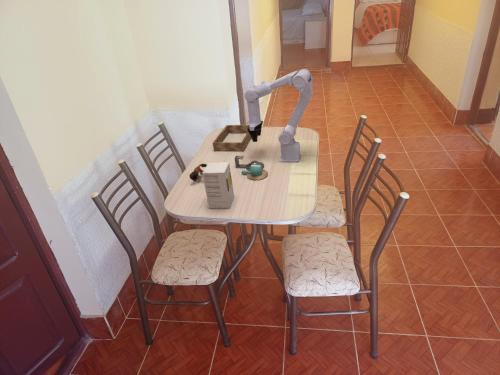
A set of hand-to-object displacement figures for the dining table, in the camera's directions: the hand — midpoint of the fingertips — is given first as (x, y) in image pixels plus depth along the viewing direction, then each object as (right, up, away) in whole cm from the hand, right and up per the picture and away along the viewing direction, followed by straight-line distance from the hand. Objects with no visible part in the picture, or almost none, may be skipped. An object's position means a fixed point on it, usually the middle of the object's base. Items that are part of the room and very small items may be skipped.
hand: (256, 138), depth 180 cm
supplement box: (-15, -31, -29) cm, 46 cm away
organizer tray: (-12, +2, +24) cm, 27 cm away
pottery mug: (-27, -21, -10) cm, 36 cm away
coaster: (0, -19, -12) cm, 23 cm away
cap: (-3, -18, -12) cm, 22 cm away
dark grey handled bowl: (-3, -15, -4) cm, 16 cm away
